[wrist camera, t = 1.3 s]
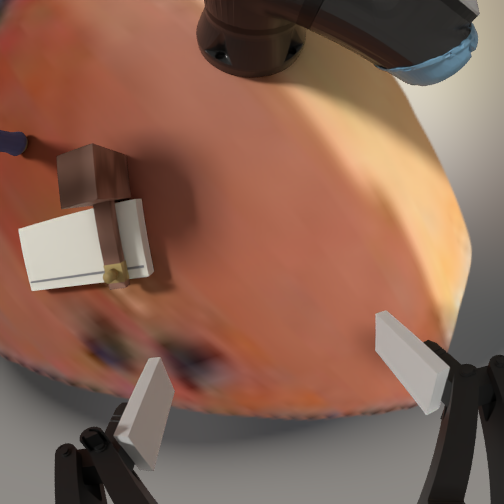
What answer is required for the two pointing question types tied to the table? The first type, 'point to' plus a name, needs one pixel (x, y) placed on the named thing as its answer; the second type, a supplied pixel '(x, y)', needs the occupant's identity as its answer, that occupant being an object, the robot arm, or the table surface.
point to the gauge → (98, 199)
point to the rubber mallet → (13, 142)
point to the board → (83, 248)
